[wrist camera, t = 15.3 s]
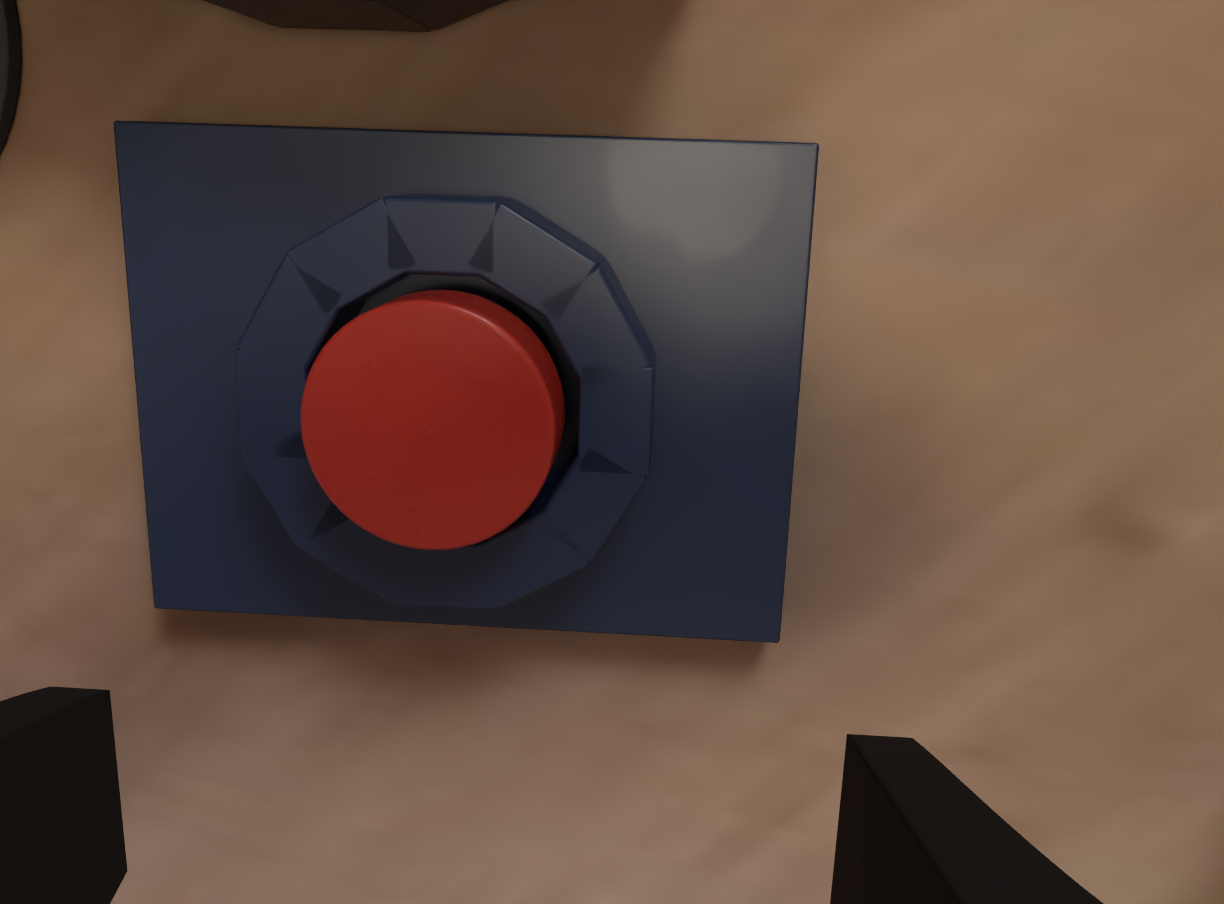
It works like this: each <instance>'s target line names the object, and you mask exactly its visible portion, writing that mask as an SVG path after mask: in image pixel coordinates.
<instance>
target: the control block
mask: <svg viewBox="0 0 1224 904" xmlns="http://www.w3.org/2000/svg"><path fill="white" fill-rule="evenodd" d="M114 132H115V144H116V156H117V168H118V180H119V192H120V204H121V215H122V227H123V239H124V251H125V263H126V275H127V287H128V299H129V311H130V322H131V334H132V346H133V358H134V370H135V382H136V394H137V406H138V418H139V429H140V441H141V453H142V465H143V477H144V489H145V501H146V513H147V524H148V536H149V548H150V560H151V572H152V584H153V596H154V607H155V608H163V609H181V610H199V611H217V612H235V613H253V614H271V615H289V616H307V617H325V618H343V619H361V620H379V621H397V622H415V623H433V624H451V625H469V626H487V627H505V628H523V629H541V630H559V631H577V632H595V633H613V634H631V635H649V636H667V637H685V638H703V639H721V640H739V641H757V642H775V643H778V642H779V641H780V631H781V618H782V605H783V593H784V580H785V568H786V555H787V542H788V530H789V517H790V505H791V492H792V479H793V467H794V454H795V442H796V429H797V416H798V404H799V391H800V379H801V366H802V354H803V341H804V328H805V316H806V303H807V291H808V278H809V265H810V253H811V240H812V228H813V215H814V202H815V190H816V177H817V165H818V152H819V145H818V144H817V143H796V142H765V141H734V140H703V139H671V138H640V137H609V136H578V135H547V134H516V133H485V132H454V131H423V130H392V129H361V128H330V127H299V126H268V125H237V124H206V123H174V122H143V121H115V122H114ZM438 289H447V290H456V291H463V292H467V293H471V294H475V295H478V296H481V297H484V298H486V299H489V300H491V301H493V302H495V303H497V304H499V305H501V306H503V307H504V308H506V309H508V310H509V311H510V312H512V313H513V314H515V315H516V316H517V317H519V318H520V319H521V320H522V321H523V322H524V323H525V324H526V325H527V326H529V327H530V328H531V329H532V331H533V332H534V333H535V334H536V335H537V337H538V338H539V339H540V340H541V341H542V343H543V345H544V346H545V348H546V349H547V351H548V352H549V354H550V356H551V358H552V360H553V362H554V364H555V367H556V369H557V372H558V375H559V378H560V381H561V384H562V390H563V396H564V406H565V419H564V430H563V435H562V439H561V443H560V447H559V449H558V452H557V455H556V457H555V460H554V462H553V464H552V467H551V469H550V471H549V474H548V476H547V478H546V481H545V483H544V485H543V486H542V488H541V490H540V492H539V494H538V496H537V497H536V498H535V500H534V501H533V502H532V504H531V505H530V507H529V508H528V509H527V510H526V511H525V512H524V513H523V514H522V515H521V516H520V517H519V518H518V519H517V520H516V521H515V522H514V523H512V524H511V525H510V526H508V527H507V528H506V529H505V530H503V531H501V532H499V533H498V534H496V535H494V536H493V537H491V538H488V539H486V540H484V541H481V542H479V543H476V544H473V545H469V546H465V547H462V548H455V549H448V550H424V549H415V548H410V547H406V546H401V545H397V544H394V543H392V542H389V541H386V540H384V539H381V538H379V537H377V536H375V535H373V534H371V533H369V532H367V531H366V530H364V529H363V528H361V527H360V526H358V525H357V524H355V523H354V522H353V521H351V520H350V519H349V518H348V517H347V516H346V515H344V514H343V513H342V512H341V511H340V510H339V509H338V508H337V507H336V505H335V504H334V503H333V502H332V501H331V500H330V499H329V497H328V496H327V495H326V493H325V492H324V490H323V489H322V487H321V486H320V484H319V483H318V481H317V479H316V477H315V475H314V473H313V471H312V469H311V466H310V464H309V461H308V458H307V456H306V452H305V448H304V444H303V440H302V431H301V402H302V396H303V390H304V387H305V383H306V380H307V377H308V374H309V372H310V370H311V367H312V365H313V363H314V361H315V359H316V358H317V356H318V354H319V353H320V351H321V350H322V348H323V347H324V345H325V344H326V343H327V342H328V341H329V340H330V338H331V337H332V336H333V335H334V334H335V333H336V332H337V331H338V330H340V329H341V328H342V327H343V326H344V325H345V324H346V323H348V322H349V321H351V320H352V319H354V318H356V317H357V316H359V315H360V314H362V313H364V312H366V311H369V310H371V309H373V308H375V307H377V306H379V305H382V304H384V303H386V302H388V301H391V300H393V299H395V298H397V297H400V296H403V295H406V294H410V293H413V292H418V291H424V290H438Z"/></svg>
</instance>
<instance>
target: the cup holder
mask: <svg viewBox="0 0 1224 904" xmlns="http://www.w3.org/2000/svg"><path fill="white" fill-rule="evenodd" d="M204 1H206V2H209V3H212V4H215V5H218V6H220V7H223V8H226V9H229V10H232V11H234V12H237V13H240V14H243V15H246V16H248V17H251V18H254V19H257V20H259V21H262V22H265V23H268V24H271V25H275V26H278V27H289V28H325V29H361V30H398V31H431V30H432V29H439V28H441V27H443V26H446V25H448V24H451V23H453V22H455V21H458V20H460V19H462V18H465V17H467V16H470V15H472V14H474V13H477V12H479V11H481V10H484V9H486V8H488V7H491V6H493V5H496V4H498V3H500V2H503V1H505V0H204Z"/></svg>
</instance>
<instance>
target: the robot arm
mask: <svg viewBox="0 0 1224 904" xmlns="http://www.w3.org/2000/svg"><path fill="white" fill-rule="evenodd" d="M126 872H127V863H126V852H125V842H124V832H123V822H122V812H121V801H120V791H119V781H118V771H117V760H116V750H115V740H114V730H113V720H112V709H111V699H110V690H98V689H81V688H65V687H47V688H43V689H39V690H35V691H32V692H28V693H25V694H21V695H18V696H15V697H12V698H9V699H6V700H3V701H0V904H110V903H111V901H112V899H113V897H114V895H115V893H116V891H117V889H118V887H119V886H120V884H121V882H122V880H123V878H124V876H125V874H126ZM830 904H1103V903H1102V902H1101V901H1099V900H1098V899H1097V898H1096V897H1094V896H1093V895H1092V894H1090V893H1089V892H1088V891H1087V890H1085V889H1084V888H1083V887H1082V886H1080V885H1079V884H1078V883H1077V882H1075V881H1074V880H1073V879H1072V878H1071V877H1069V876H1068V875H1067V874H1066V873H1065V872H1063V871H1062V870H1061V869H1060V868H1058V867H1057V866H1056V865H1055V864H1054V863H1052V862H1051V861H1050V860H1049V859H1048V858H1047V857H1045V856H1044V855H1043V854H1042V853H1041V852H1040V851H1038V850H1037V849H1036V848H1035V847H1034V846H1033V845H1031V844H1030V843H1029V842H1028V841H1027V840H1026V839H1025V838H1023V837H1022V836H1021V835H1020V834H1019V833H1018V832H1017V831H1015V830H1014V829H1013V828H1012V827H1011V826H1010V825H1009V824H1008V823H1006V822H1005V821H1004V820H1003V819H1002V818H1001V817H1000V816H999V815H998V814H996V813H995V812H994V811H993V810H992V809H991V808H990V807H989V806H988V805H986V804H985V803H984V802H983V801H982V800H981V799H980V798H979V797H978V796H977V795H976V794H974V793H973V792H972V791H971V790H970V789H969V788H968V787H967V786H966V785H965V784H964V783H962V782H961V781H960V780H959V779H958V778H957V777H956V776H955V775H954V774H953V773H952V772H951V771H949V770H948V769H947V768H946V767H945V766H944V765H943V764H942V763H941V762H940V761H939V760H937V759H936V758H935V757H934V756H933V755H932V754H931V753H930V752H928V751H927V750H926V749H925V748H924V747H923V746H921V745H920V744H919V743H918V742H917V741H915V740H914V739H913V738H903V737H886V736H870V735H853V734H847V740H846V750H845V760H844V770H843V780H842V790H841V800H840V811H839V821H838V831H837V841H836V851H835V861H834V871H833V881H832V891H831V901H830Z"/></svg>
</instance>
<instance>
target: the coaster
mask: <svg viewBox="0 0 1224 904" xmlns="http://www.w3.org/2000/svg"><path fill="white" fill-rule="evenodd" d="M20 62H21V61H20V38H19V26H18V20H17V14H16V8H15V2H14V0H0V151H1V149H2V147H3V145H4V142H5V139H6V136H7V133H8V130H9V128H10V125H11V122H12V119H13V114H14V109H15V104H16V99H17V95H18V87H19V74H20Z"/></svg>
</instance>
